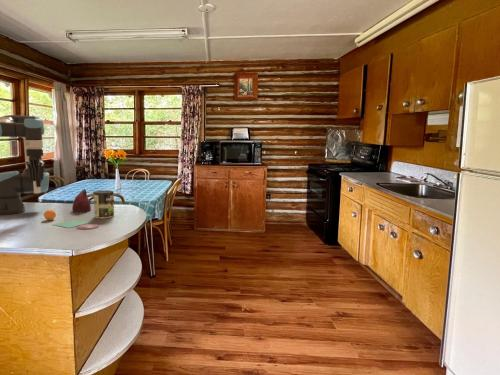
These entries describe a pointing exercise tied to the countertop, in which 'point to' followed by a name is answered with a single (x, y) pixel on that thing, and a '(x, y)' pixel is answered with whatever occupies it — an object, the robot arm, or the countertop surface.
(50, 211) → the ball
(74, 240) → the countertop surface
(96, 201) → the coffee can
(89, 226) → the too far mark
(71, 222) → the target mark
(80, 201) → the vegetable
